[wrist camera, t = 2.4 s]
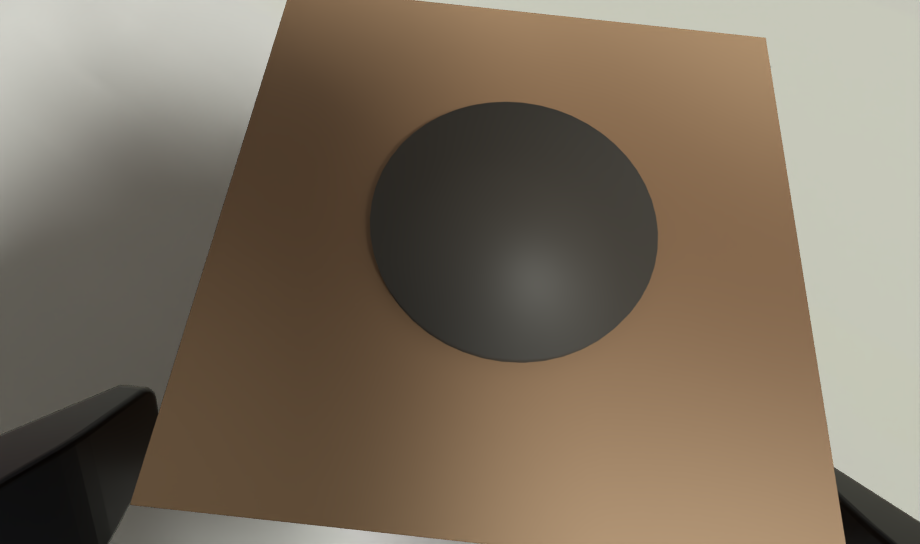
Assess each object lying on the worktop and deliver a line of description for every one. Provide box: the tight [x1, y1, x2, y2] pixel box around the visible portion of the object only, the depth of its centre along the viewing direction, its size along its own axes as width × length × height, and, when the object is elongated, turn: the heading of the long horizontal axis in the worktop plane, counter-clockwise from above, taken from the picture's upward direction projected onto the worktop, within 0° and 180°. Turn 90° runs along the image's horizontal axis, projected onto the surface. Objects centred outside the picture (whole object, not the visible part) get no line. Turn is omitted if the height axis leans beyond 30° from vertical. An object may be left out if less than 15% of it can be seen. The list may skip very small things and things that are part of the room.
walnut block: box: [130, 0, 846, 544], centre depth 10 cm, size 4×4×13 cm
